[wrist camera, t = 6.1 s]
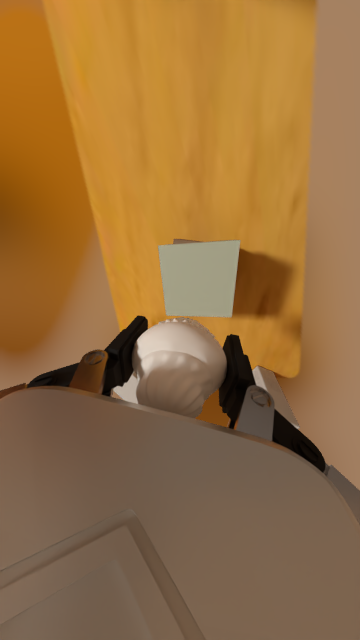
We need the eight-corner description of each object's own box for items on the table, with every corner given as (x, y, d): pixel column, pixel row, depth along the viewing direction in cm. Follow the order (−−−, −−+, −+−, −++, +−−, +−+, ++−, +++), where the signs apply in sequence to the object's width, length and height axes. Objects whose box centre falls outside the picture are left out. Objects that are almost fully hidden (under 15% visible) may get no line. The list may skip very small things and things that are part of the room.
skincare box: (258, 386, 37) (276, 442, 27) (243, 380, 37) (255, 434, 27) (274, 371, 34) (301, 428, 24) (257, 364, 34) (277, 418, 24)
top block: (168, 244, 21) (158, 245, 17) (234, 239, 20) (240, 240, 15) (173, 302, 26) (166, 315, 21) (228, 303, 24) (231, 317, 20)
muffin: (146, 297, 12) (78, 365, 6) (228, 302, 11) (250, 389, 5) (155, 356, 15) (116, 441, 9) (218, 364, 14) (224, 465, 8)
